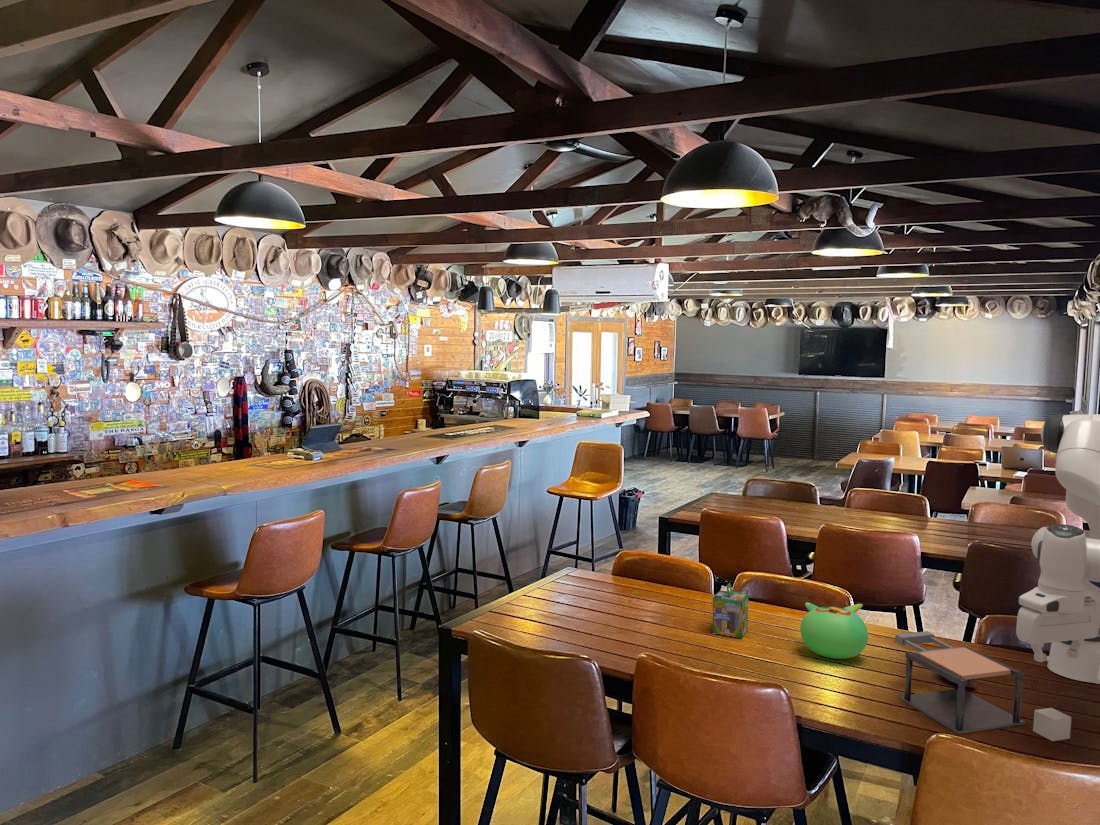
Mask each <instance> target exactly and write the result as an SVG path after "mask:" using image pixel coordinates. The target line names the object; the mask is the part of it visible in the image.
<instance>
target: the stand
mask: <svg viewBox="0 0 1100 825" xmlns="http://www.w3.org/2000/svg"><path fill="white" fill-rule="evenodd" d="M959 647H966V648H967V649H969V650H971V651H973V652H975V653H977V654H979V655H981V656H983V657H985V658H987V659H989V660H991V661H993V662H996V663H998V664H1000V665H1002V666H1004V667H1006V668H1008V669H1010V670H1011V674H1009V675H1010V676H1012V677H1014V679H1015V680H1014V692H1013V694H1014V695H1013V696H1014V697H1013V709H1012V710H1013V711H1012V714H1011V713H1009V712H1007V711H1006V710H1004V709H1001V708H1000V707H998V706H996V705H994V704H993V703H990V702H988V701H987V700H984V699H983V698H981V697H979V696H977V695H976V694H973V693H971V692H969V691H968V690H966V686H967V680H965V679H963V678H961V677H959V676H957V675H955V674H953V673H951V672H949V671H947V670H945V669H943V668H941V667H940V666H938V665H936V664H934V663H932V662H930V661H928V660H926V659H924V658H922V657H920V656H918V655H916V654H915V652H911V651H906V652H905V660H906V662H905V680H904V681H905V682H904V695H899V700H901V701H902V702H905V704H907V705H909V706H911V707H913V708H914V709H916V710H917V711H919V712H921V713H923V714H924V715H926V716H928V717H929V718H932V719H933V720H935V721H936V722H938V723H939V724H941V725H943V726H945V728H946V727H947V728H948V729H949V730H951V731H953V732H955V734H956V733H957V734H958V735H961V734H962V735H964V734H969V733H974V732H982V731H988V730H996V729H997V730H998V729H1003V728H1010V727H1017V726H1023V725H1026V721H1025V720H1023V719H1021V706H1022V705H1021V704H1022V691H1023V690H1022V689H1023V679H1025V673H1024V672H1022V671H1020V670H1018V669H1016V668H1014V667H1012V666H1009V665H1007V664H1005V663H1002V662H1000V661H999V660H996V659H994V658H992V657H990V656H987V655H986V654H983V653H981V652H978V650H977V651H976V650H974V649H972V648H970V647H968V646H966V645H959ZM913 663H917V664H918V665H920V666H921V667H924V668H926V669H928V670H929V671H932V672H933V673H935V674H937V675H939V676H941V677H943V678H945V679H947V680H948V679H949V680H951V681H952V682H951V683H955V684H956V685H957V688H953V689H947V690H945V689H944V690H939V691H930V692H929V691H928V692H923V693H915V694H912V679H913V678H912V677H913Z"/></svg>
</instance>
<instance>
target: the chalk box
mask: <svg viewBox="0 0 1100 825" xmlns="http://www.w3.org/2000/svg"><path fill="white" fill-rule="evenodd" d="M749 598H750V597H749V594H748V593H741V592H738V591H733V589H732V584H731V582H729V583H727V585H726V590H721V589H720V590H719V591H718V592H717V593H716V594H715V595H714V596H713V597H712V632H711V633H716V634H722V635H726V636H725V637H729V636H732V637H731V638H735V637H736V639H741V638H742V639H743V638H744V636H745V635H744V634H746V633H747V632H748V627H749V624H748V623H749V600H750V599H749ZM722 635H721V636H722Z"/></svg>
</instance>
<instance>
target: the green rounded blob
mask: <svg viewBox="0 0 1100 825" xmlns="http://www.w3.org/2000/svg"><path fill="white" fill-rule="evenodd" d="M804 605H805V608H806V609H807V610H808V612H806V614H805V615H804V617H803V618H802V620H801V622H800V628H799V630H800V637H801V639H802V642H803V644H804V645H805V646H806V647H807V649H809V650H811V651H812V652H813V653H815V654H817V655H819V656H822V657H825V658H829V659H834V660H836V659H837V660H846V659H850V658H854V657H856V656H858V655H859V654H861V653H862V652H863V651H864V650H865V648H866V647H867V644H868V642H869V630H868V628H867V625H866V623H865V622H864V620H863V619H862V618H861V617H860V616H859V615H858V614H856V613H857V612H858V611H859V610H860V609H862V607H863V606H864V604H862V603H856V604H853V605H852V604H851V605H848V606H846V607H838V606H825V605H824V606H821V607H819V606H818V605H815V604H813V603H811V602H805V604H804Z"/></svg>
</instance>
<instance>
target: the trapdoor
mask: <svg viewBox="0 0 1100 825" xmlns="http://www.w3.org/2000/svg"><path fill="white" fill-rule="evenodd" d="M894 639H895V640H894V642H895V643H896V644H898V645H900V646H908V647H910V648H912V649H914V650H916V651H915V652H914V654H916V655H918V656H920V657H922V658H924V659H926V660H928V661H930V662H932V663H934V664H936V665H938V666H940V667H941V668H943V669H945V670H947V671H949V672H951V673H953V674H955V675H957V676H959V677H961V678H963V679H965V680H968V679H972V680H973V679H982V678H983V679H984V678H989V677H991V678H992V677H998V676H1006V675H1010V674H1011V670H1010V669H1008V668H1006V667H1004V666H1002V665H1000V664H998V663H996V662H993V661H991V660H989V659H987V658H985V657H983V656H981V655H979V654H977V653H975V652H973V651H971V650H969V649H967V648H966V647H967V646H966V647H960V646H958V647H953V646H952V645H949V644H948V643H945V642H943V641H942V640H939V639H937V638H935V634H934V633H932V632H931V631H928V630H927V631H914V632H907V633H895V637H894ZM929 643H934V644H936V645H938V646H940V647H942V648H940V649H929V650H927V649H925V648H923V647H921V646H919V644H929Z"/></svg>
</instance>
